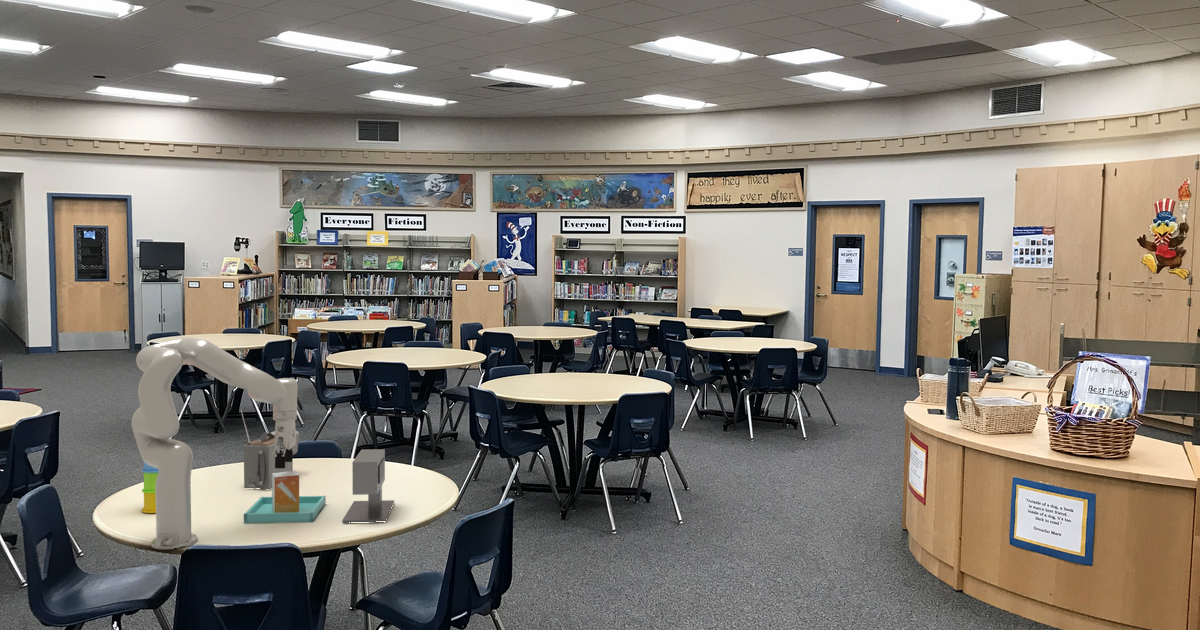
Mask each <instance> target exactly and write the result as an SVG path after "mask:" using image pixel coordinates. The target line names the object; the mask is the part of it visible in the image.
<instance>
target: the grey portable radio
mask: <svg viewBox="0 0 1200 630" xmlns="http://www.w3.org/2000/svg"><path fill="white" fill-rule="evenodd" d="M240 413H241V417H242V420H243V424H244V428H245V429H244V430H245V432H246V437H247V441H248V442H247V443H246V444H244V445H243V482H244V483H243V486H244V487H243V488H260V489H271V488H272V473H280V472H290V471H294V470H293V469H294V467H293V464H294V463H293V461H292V462H285V468H275V453H276V452H275V451H276V449H275V430H274V431H271V432H263V433H262V434H261V435H260V437H259V438H258V439H255V440H252V441H251V440H250V436H249V433H248V429H247V426H246V422H245V419H244V414H243V410H242V409H240ZM299 439H300V432H299V431H298V430H296V444H295V446H293V456H294V455H296V454H297V453H298V450H299ZM282 453H283V450H282ZM271 490H272V489H271Z"/></svg>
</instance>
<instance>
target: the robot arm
mask: <svg viewBox="0 0 1200 630" xmlns="http://www.w3.org/2000/svg"><path fill="white" fill-rule="evenodd" d="M135 361H136V362H135V363H136V366H137V367H138V368H139V370H141V371H142V372H143V374H142V377H141V379H140V380H139V384H138V389H137V395H138V396H137V397H138V400H139V403H140V406H139V407H138V408H137V409H136V410H135V411H134V412H133V414H132V418H131V429H132V432H133V436H134V439H135V442H136V445H137V448H138V451H139V454H140V457H141V459H142V461H143V463H144V462H145V463H146V464H147V465H149V466H151V467H154V468H157V469H159V472H158V476H157V480H156V487H155V495H156V513H155V525H156V528H155V530H156V531H155V532H156V535H155V536H156V537H155V538H153V539H152V540H151V541H150V546H151V548H153V549H156V550H161V551H162V550H164V551H167V550H175V549H174V548H177V549H180V548H179V547H182V546H186V547H189V546H192V545H194V544H195V543H196V542H197V541H198V535H197V534H195V533H192V491H191V488H192V487H191V484H192V483H191V482H192V481H191V479H192V478H191V477H192V468H193V464H194V453H193V450H192V449H191V447H190V446H189V445H188V444H187V443H185V442H183V441H180V440H177V439H174V438H173V437H174V436H176V435H177V434H178V432H179V430H180V420H179V419H180V418H179V416H178V413H177V410H176V406H175V403H174V399H173V396H172V391H171V386H172V383H173V381H174V379H175V377H176V376H177V374H179V372H180V370H182V366H184V365H188V366H189V365H190V366H193V367H196V368H198V369H199V370H201V371H203V372H205V373H207V374H209V375H210V376H211V377H214V378H216V379H217V380H219V381H220V382H222V383H224V384H227V385H229V386H233V387H235V388H239V389H241V390H242V389H243V390H246V391H247V394H248V396H249V398H250V399H251V400H253V401H256V402H259V403H264V404H265V403H266V404H269V405H272V406H273V407H272V408H273V409H272V411H273V412H272V413H273V414H272V420H273V421H275V424H274V425H275V426H274V431H275V449H276V451H275V452H276V453H275V468H285V462H292V461H293V458H294V455H293V446H295V444H296V431H297V430H296V421H297V418H298V417H297V416H298V411H297V410H298V381H297V379H294V378H290V377H282V378H275V377H274V376H272V375H270V374H269V373H267V372H265V371H263V370H261V369H258V368H257V367H255V366H252V365H251V364H249V363H247V362H246V361H243V360H241V359H239V358H237V357H235V356H234V355H232V354H231V353H229V352H227V351H226V350H224V349H223V348H221V347H219V346H218V345H215V344H214V343H212V342H211V341H209V340H207V339H204V338H196V337H184V338H179V339H174V340H170V341H169V340H168V341H166V342H161V343H156V344H151V345H148V346H145V347H143V348H142V349H140V351H139V352H138V353H137V355H136V360H135ZM282 450H283V453H282ZM191 544H192V545H191ZM188 545H189V546H188Z"/></svg>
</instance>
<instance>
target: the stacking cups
mask: <svg viewBox="0 0 1200 630" xmlns="http://www.w3.org/2000/svg"><path fill="white" fill-rule="evenodd" d="M141 472H142V473H143V488H142V489H141V492H142V493H143V507H142V509H141V512H142V513H145V514H156V495H155V487H156V480H157V476H158V472H159V469H157V468H154V467H151V466H149V465H147V464H146V463H145V462H144V461H143V468H142V469H141Z"/></svg>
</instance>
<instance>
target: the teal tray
mask: <svg viewBox="0 0 1200 630" xmlns="http://www.w3.org/2000/svg"><path fill="white" fill-rule="evenodd" d="M326 497H327V496H326V495H299V512H291V513H274V512H273V510H272V496H260V497H259V499H258V500H256V501H255V502H254V503H253V504H252V505H251V506H250V508H248V509H247V511H246V512H244V513H243V524H267V523H269V524H270V523H271V524H274V523H275V524H276V523H279V522H282V523H313V522H314V521H315V520H316V518H317V517H318V516H319V514H320V513H321V511H322V510H323V509H324V507H325V506H324V505H326V504H325V503H326V502H327V501H326V500H327V498H326ZM323 506H324V507H323ZM321 509H322V510H321ZM319 512H320V513H319ZM314 519H315V520H314Z"/></svg>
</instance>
